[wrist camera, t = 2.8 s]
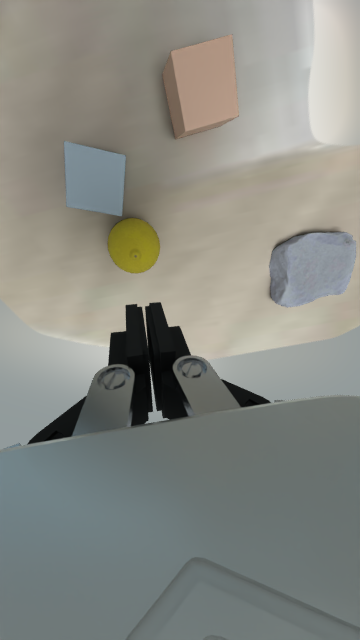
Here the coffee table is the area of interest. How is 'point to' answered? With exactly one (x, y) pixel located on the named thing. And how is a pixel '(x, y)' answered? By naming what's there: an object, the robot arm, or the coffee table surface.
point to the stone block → (311, 267)
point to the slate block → (94, 179)
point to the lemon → (133, 245)
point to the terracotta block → (201, 86)
